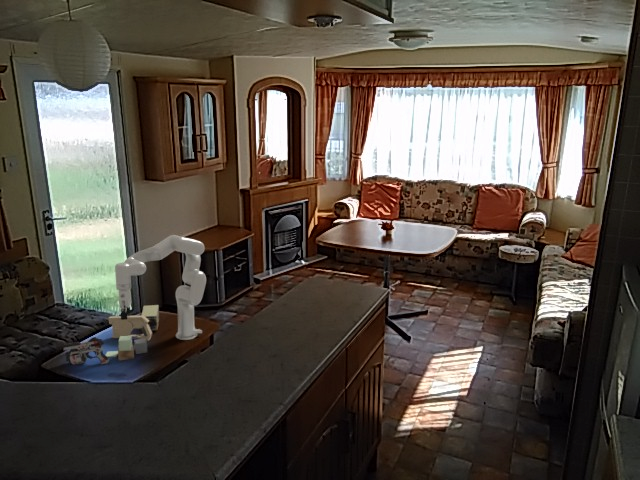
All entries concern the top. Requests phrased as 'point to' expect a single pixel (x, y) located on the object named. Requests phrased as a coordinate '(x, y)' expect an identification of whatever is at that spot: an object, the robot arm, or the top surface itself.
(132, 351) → the walnut base
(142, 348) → the grey cube
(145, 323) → the gun
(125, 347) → the sage cube
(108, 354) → the sage tile
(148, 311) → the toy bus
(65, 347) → the toy blaster
